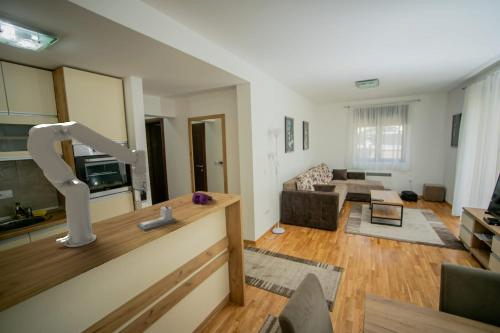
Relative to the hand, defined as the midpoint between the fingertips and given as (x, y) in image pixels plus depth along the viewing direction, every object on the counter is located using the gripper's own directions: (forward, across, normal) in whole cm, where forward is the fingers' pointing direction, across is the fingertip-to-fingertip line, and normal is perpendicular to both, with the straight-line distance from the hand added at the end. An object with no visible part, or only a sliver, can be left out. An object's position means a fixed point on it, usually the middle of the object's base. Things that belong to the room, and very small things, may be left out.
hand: (141, 198), depth 134 cm
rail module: (+2, 0, 0) cm, 2 cm away
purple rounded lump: (+16, -9, +54) cm, 57 cm away
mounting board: (+16, +8, +5) cm, 18 cm away
